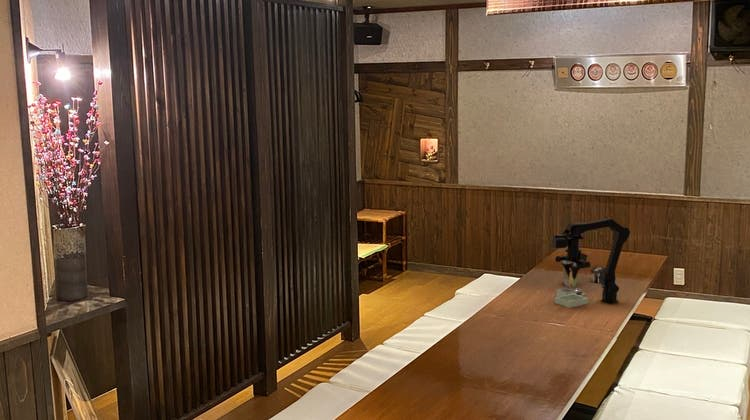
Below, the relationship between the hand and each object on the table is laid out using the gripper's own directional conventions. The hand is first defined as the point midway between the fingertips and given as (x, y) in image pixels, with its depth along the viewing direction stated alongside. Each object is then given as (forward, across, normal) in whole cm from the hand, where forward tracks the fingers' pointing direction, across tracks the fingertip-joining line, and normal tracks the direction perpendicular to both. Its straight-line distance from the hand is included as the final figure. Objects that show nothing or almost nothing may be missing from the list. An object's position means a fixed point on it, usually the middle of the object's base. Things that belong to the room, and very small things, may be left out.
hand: (571, 278), depth 362 cm
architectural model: (+14, +24, -46) cm, 54 cm away
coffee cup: (+13, +26, -26) cm, 39 cm away
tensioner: (+13, +10, -10) cm, 19 cm away
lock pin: (+4, 0, 0) cm, 5 cm away
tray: (+13, -1, 0) cm, 13 cm away
